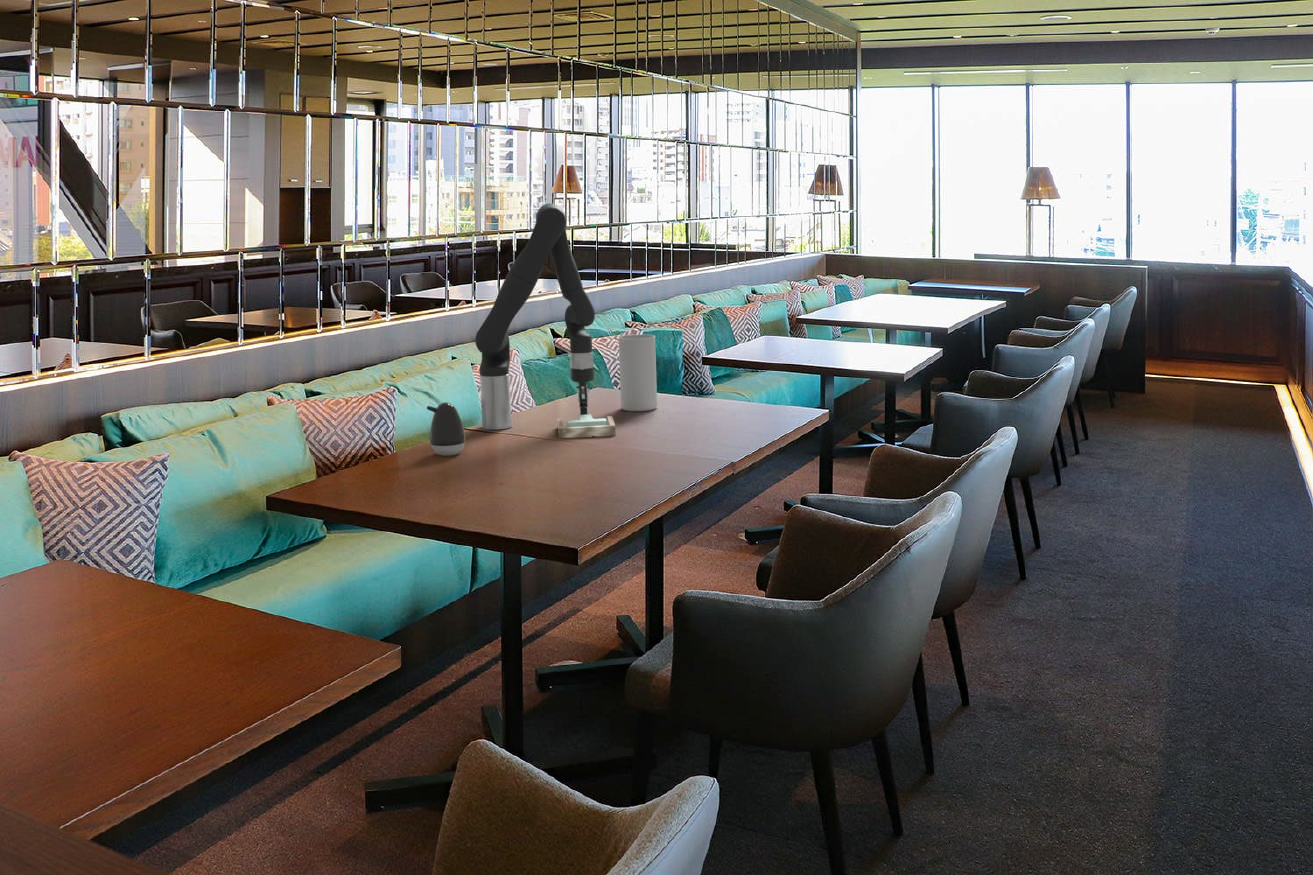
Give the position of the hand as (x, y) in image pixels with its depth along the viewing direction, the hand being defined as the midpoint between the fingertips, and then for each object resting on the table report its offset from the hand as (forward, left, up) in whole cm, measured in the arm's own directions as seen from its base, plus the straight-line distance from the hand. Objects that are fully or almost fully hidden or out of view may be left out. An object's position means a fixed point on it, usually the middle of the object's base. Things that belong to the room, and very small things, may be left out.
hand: (584, 418), depth 361 cm
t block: (0, -12, -2) cm, 12 cm away
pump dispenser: (-41, -37, -2) cm, 55 cm away
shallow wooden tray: (0, -14, -2) cm, 14 cm away
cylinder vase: (+20, +22, -2) cm, 30 cm away
